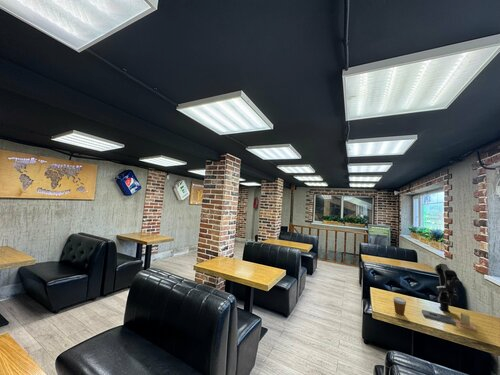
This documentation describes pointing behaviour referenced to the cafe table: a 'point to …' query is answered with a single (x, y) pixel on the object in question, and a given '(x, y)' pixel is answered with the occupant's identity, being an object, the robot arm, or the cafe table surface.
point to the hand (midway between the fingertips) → (449, 302)
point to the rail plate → (438, 317)
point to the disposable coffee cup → (399, 305)
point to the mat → (465, 326)
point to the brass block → (465, 319)
